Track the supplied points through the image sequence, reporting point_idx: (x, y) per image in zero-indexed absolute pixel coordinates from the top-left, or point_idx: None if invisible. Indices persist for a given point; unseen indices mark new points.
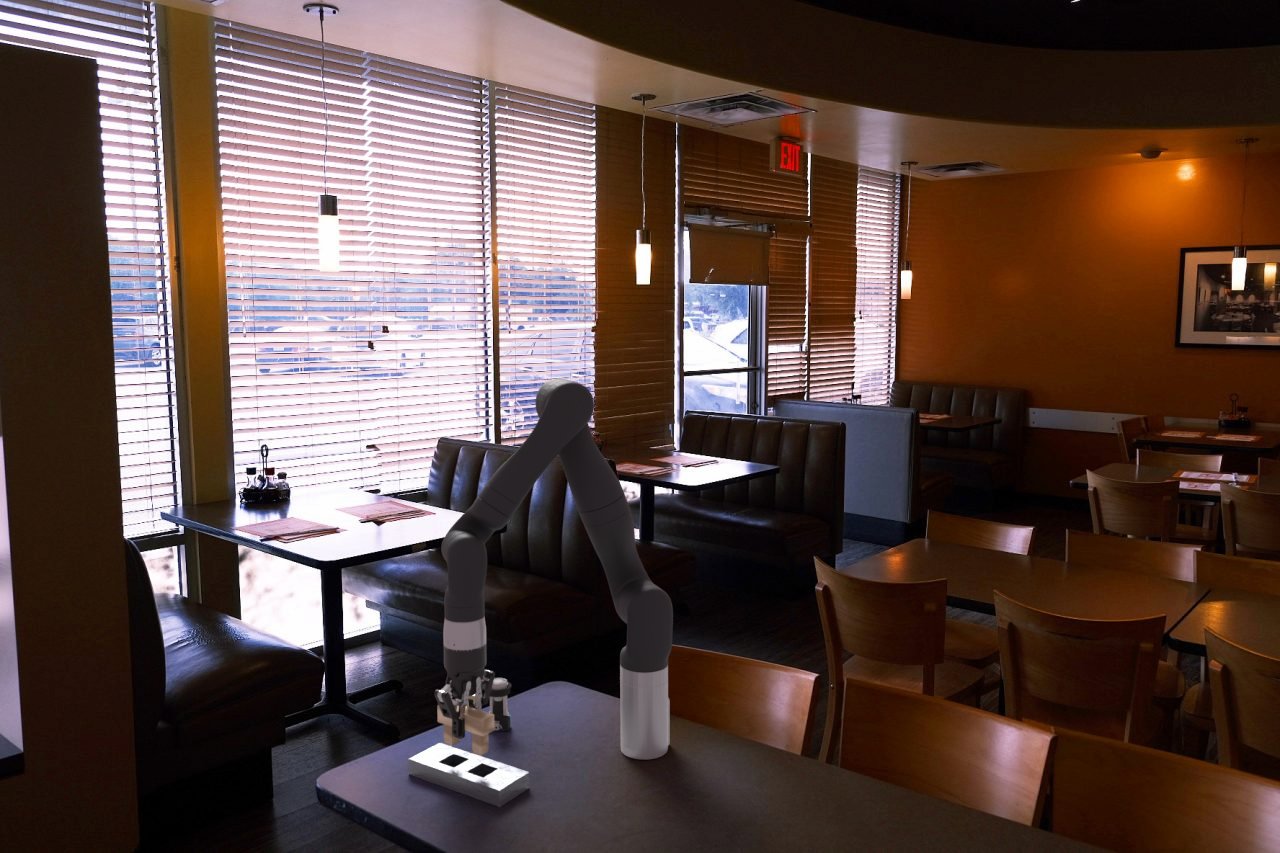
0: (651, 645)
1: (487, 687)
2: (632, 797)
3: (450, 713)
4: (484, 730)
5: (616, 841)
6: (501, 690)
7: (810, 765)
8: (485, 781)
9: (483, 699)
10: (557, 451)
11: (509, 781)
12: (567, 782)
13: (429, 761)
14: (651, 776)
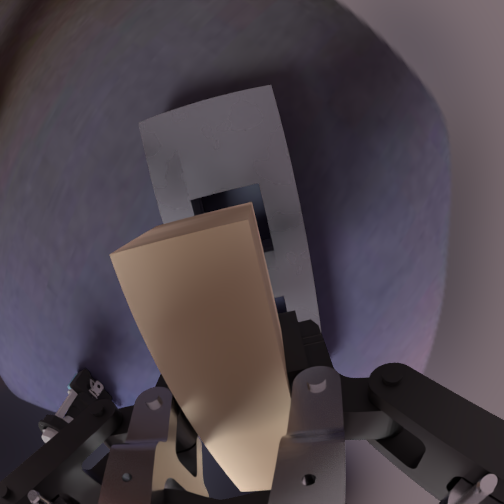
0: None
1: (56, 467)
2: (67, 11)
3: (440, 388)
4: (235, 208)
5: None
6: (56, 428)
7: None
8: (268, 157)
9: (107, 427)
10: None
11: (213, 108)
12: (86, 105)
13: None
14: (11, 62)
